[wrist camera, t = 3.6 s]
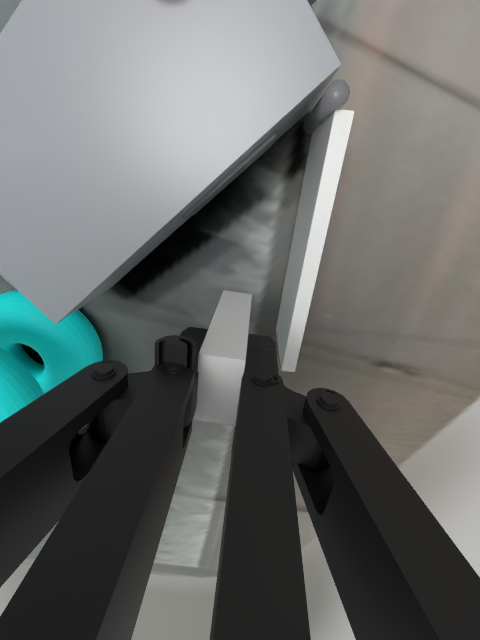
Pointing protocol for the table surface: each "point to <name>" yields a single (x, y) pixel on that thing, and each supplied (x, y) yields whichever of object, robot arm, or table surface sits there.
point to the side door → (313, 216)
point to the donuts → (39, 351)
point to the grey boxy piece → (136, 126)
